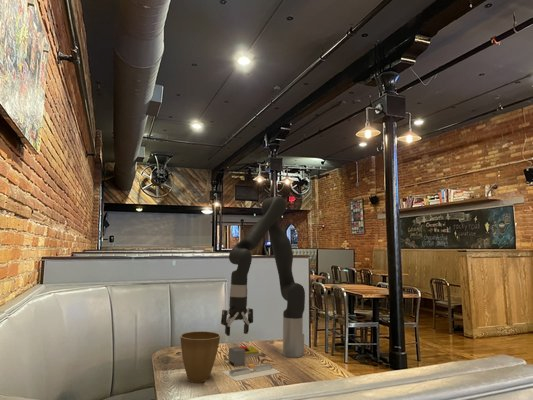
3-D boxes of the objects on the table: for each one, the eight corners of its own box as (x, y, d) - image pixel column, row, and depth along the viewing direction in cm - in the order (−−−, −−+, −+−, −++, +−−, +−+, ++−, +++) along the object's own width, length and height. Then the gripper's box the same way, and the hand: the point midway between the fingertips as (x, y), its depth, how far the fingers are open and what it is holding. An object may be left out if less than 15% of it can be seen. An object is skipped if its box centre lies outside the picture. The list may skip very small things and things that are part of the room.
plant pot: (220, 385, 133) (221, 338, 135) (177, 387, 129) (180, 340, 132) (216, 372, 147) (218, 330, 149) (178, 373, 144) (180, 331, 146)
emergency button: (227, 345, 173) (257, 343, 178) (226, 355, 172) (257, 353, 177) (232, 351, 164) (264, 348, 169) (232, 361, 163) (264, 358, 169)
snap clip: (252, 366, 146) (252, 363, 147) (254, 368, 145) (254, 364, 145) (248, 367, 145) (248, 364, 146) (250, 368, 144) (250, 365, 144)
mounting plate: (264, 366, 155) (264, 364, 155) (280, 374, 145) (280, 372, 145) (221, 374, 144) (221, 371, 144) (236, 383, 134) (236, 380, 135)
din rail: (268, 367, 151) (268, 363, 151) (272, 369, 149) (272, 365, 149) (229, 374, 141) (229, 370, 141) (232, 376, 139) (232, 372, 139)
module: (237, 363, 158) (238, 346, 159) (244, 367, 154) (245, 349, 154) (228, 365, 156) (228, 347, 157) (235, 369, 151) (235, 351, 152)
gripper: (248, 293, 166) (246, 331, 164) (219, 294, 158) (217, 334, 156) (257, 295, 160) (255, 334, 157) (227, 296, 152) (225, 338, 150)
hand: (236, 334), depth 157 cm, fingers open, 8 cm apart
